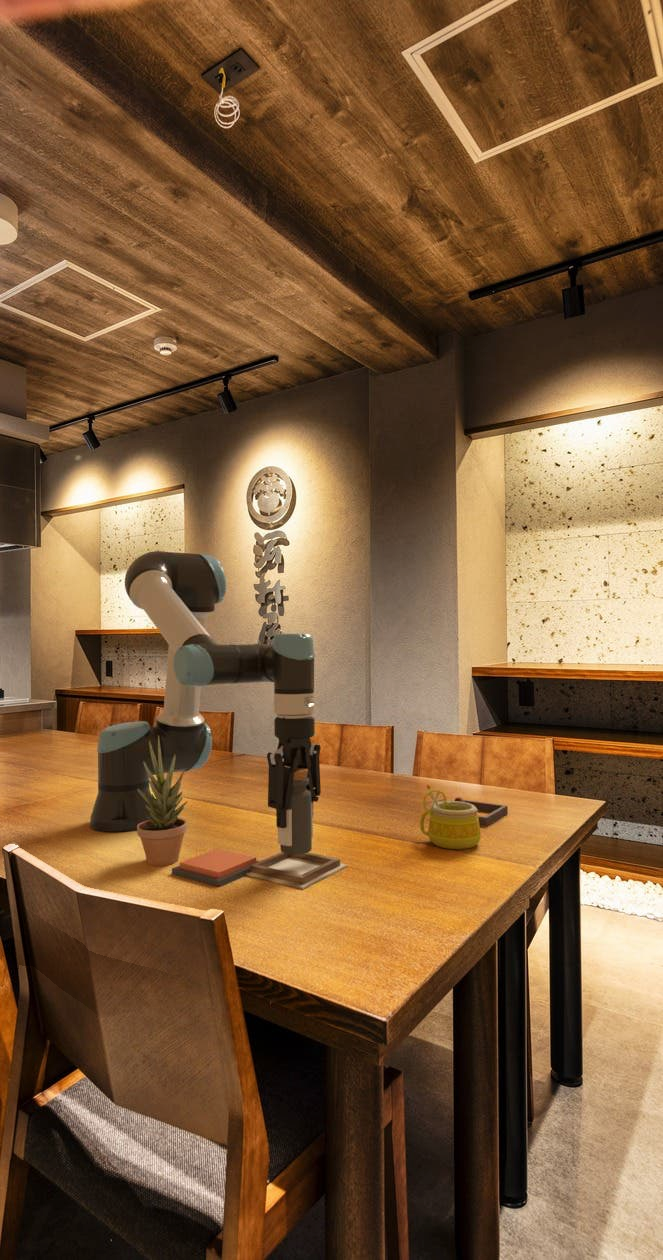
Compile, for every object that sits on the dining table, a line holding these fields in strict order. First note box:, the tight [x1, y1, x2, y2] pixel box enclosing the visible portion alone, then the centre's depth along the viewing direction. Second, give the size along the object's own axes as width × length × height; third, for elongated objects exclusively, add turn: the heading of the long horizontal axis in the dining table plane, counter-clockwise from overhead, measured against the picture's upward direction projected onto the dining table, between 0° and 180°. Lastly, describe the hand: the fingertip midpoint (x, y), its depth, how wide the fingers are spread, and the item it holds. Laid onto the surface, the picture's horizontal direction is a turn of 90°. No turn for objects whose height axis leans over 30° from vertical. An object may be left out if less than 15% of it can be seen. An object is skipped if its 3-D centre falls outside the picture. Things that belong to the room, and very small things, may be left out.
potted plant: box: [136, 735, 188, 867], centre depth 132 cm, size 10×10×25 cm
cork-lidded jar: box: [279, 767, 313, 854], centre depth 126 cm, size 6×6×15 cm
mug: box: [419, 784, 481, 850], centre depth 142 cm, size 13×11×12 cm
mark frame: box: [245, 851, 349, 890], centre depth 126 cm, size 14×14×2 cm
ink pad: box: [171, 848, 260, 888], centre depth 126 cm, size 12×12×2 cm
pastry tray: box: [451, 799, 509, 828], centre depth 164 cm, size 14×14×2 cm
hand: (295, 840), depth 126 cm, fingers closed on cork-lidded jar, 6 cm apart
